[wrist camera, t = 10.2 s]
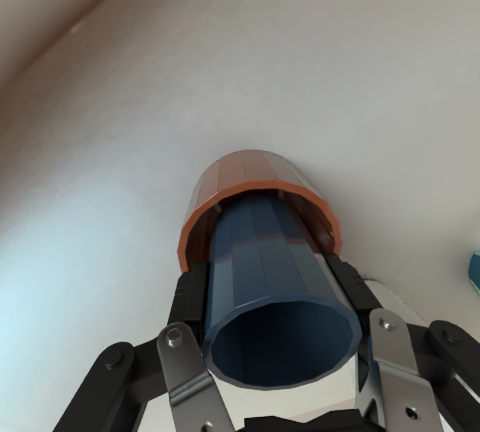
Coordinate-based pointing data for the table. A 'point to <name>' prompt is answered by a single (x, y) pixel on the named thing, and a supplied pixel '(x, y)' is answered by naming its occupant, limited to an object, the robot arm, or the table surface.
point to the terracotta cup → (253, 182)
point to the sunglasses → (475, 271)
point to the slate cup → (272, 301)
